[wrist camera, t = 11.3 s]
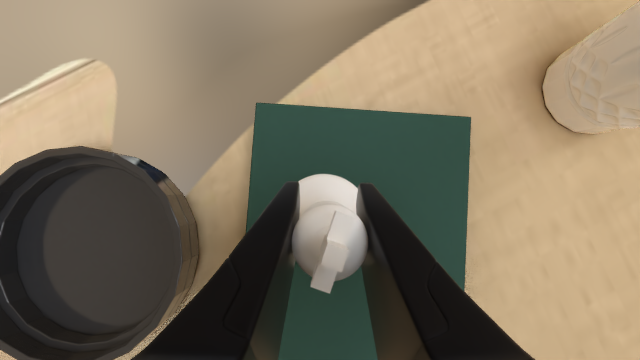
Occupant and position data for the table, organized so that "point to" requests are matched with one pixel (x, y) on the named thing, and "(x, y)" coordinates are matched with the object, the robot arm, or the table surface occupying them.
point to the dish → (90, 254)
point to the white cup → (598, 78)
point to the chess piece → (328, 230)
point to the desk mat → (357, 167)
